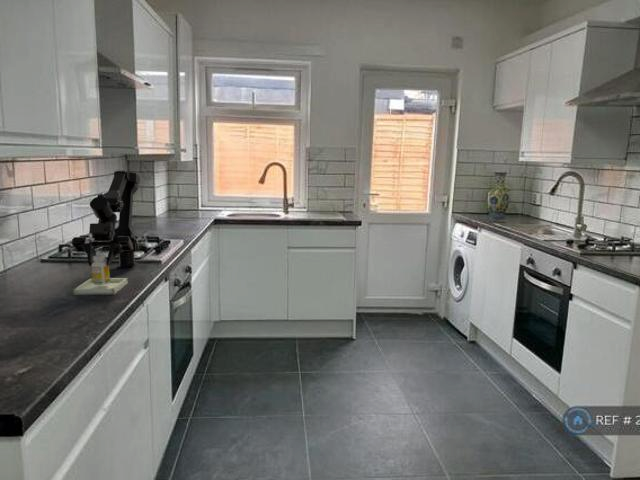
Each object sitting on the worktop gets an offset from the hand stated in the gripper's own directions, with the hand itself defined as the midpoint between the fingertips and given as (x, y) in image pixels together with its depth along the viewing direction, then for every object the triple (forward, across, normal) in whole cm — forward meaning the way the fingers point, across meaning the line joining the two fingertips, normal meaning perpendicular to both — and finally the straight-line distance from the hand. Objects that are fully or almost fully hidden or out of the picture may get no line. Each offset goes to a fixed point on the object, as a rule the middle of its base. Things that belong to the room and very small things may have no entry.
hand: (98, 265), depth 161 cm
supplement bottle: (+4, 0, +6) cm, 7 cm away
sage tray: (+5, 0, +7) cm, 9 cm away
